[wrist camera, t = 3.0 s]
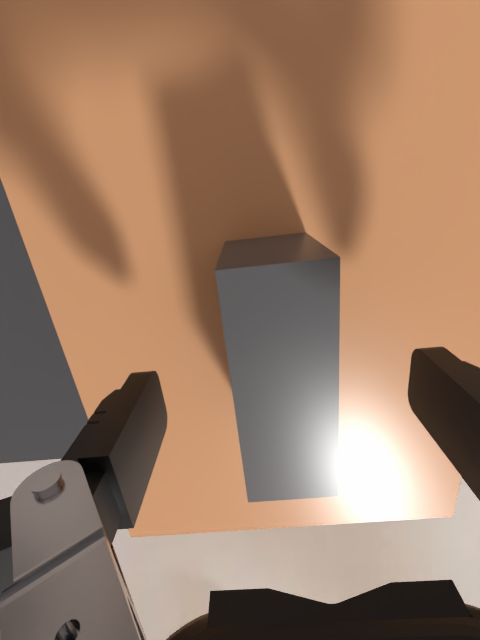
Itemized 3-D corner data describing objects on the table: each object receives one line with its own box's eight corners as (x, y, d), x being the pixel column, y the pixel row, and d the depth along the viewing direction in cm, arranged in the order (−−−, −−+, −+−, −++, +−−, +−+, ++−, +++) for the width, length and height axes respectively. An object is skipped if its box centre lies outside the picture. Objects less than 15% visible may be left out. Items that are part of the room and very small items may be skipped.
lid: (141, 505, 20) (98, 639, 14) (-17, 22, 11) (-326, -175, 5) (433, 485, 19) (518, 620, 13) (524, -60, 10) (934, -424, 4)
